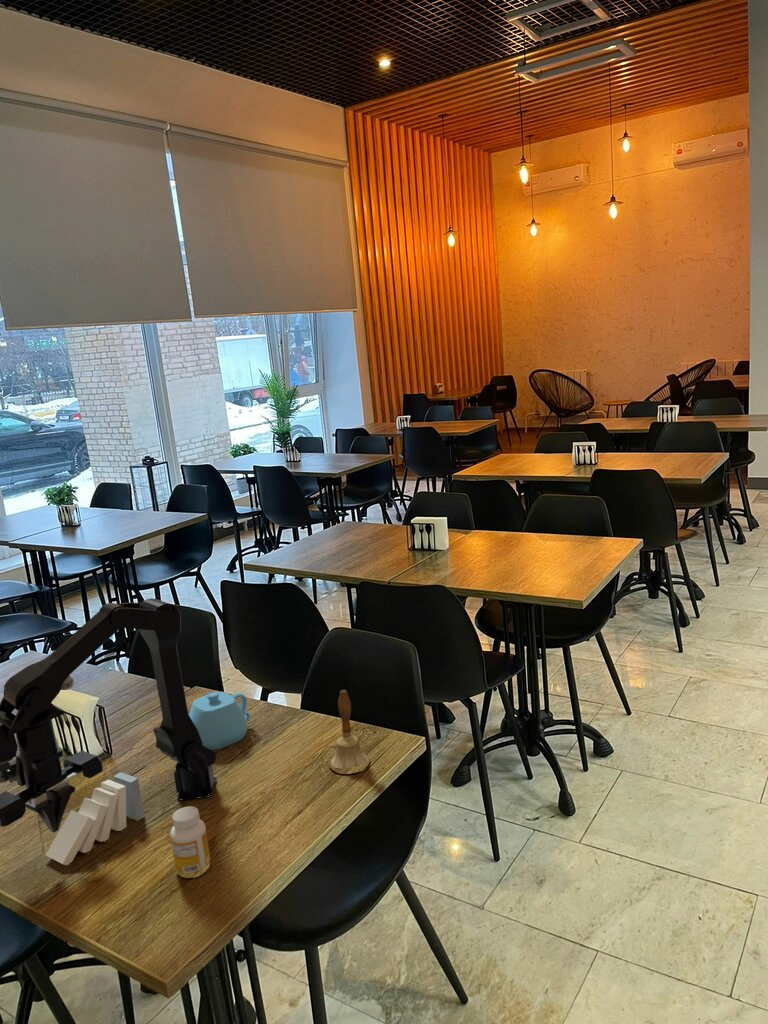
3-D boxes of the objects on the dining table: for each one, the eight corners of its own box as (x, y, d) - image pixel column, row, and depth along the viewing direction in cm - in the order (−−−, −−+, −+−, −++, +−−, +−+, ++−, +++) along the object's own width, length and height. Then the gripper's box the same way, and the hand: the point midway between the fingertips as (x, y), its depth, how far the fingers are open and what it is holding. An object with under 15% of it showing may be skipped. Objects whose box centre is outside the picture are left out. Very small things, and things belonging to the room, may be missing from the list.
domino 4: (90, 833, 140) (101, 787, 141) (108, 840, 137) (118, 794, 138) (83, 833, 138) (93, 788, 140) (100, 841, 136) (110, 795, 137)
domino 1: (51, 857, 134) (77, 812, 137) (68, 866, 131) (95, 820, 135) (45, 855, 132) (71, 809, 136) (62, 864, 130) (88, 817, 133)
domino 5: (127, 810, 146) (120, 772, 144) (144, 816, 143) (137, 778, 142) (120, 814, 145) (113, 776, 143) (137, 821, 142) (130, 782, 140)
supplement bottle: (197, 853, 131) (189, 799, 129) (218, 865, 128) (210, 810, 126) (169, 872, 127) (160, 816, 125) (190, 884, 123) (181, 828, 121)
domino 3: (109, 821, 143) (108, 779, 142) (126, 828, 140) (125, 786, 140) (101, 824, 142) (101, 782, 141) (118, 832, 139) (118, 789, 138)
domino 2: (71, 845, 137) (91, 799, 140) (89, 853, 134) (108, 806, 137) (64, 843, 135) (84, 797, 138) (81, 852, 133) (101, 804, 135)
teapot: (157, 700, 168) (232, 674, 178) (164, 745, 170) (237, 717, 181) (180, 719, 158) (258, 690, 168) (188, 766, 160) (264, 735, 171)
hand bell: (345, 750, 161) (338, 679, 158) (378, 759, 156) (371, 686, 153) (320, 769, 155) (312, 696, 151) (353, 779, 150) (346, 704, 147)
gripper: (60, 714, 140) (74, 791, 143) (-43, 763, 125) (-25, 848, 128) (97, 726, 133) (111, 807, 137) (-7, 780, 118) (12, 869, 122)
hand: (54, 831), depth 131 cm, fingers closed
